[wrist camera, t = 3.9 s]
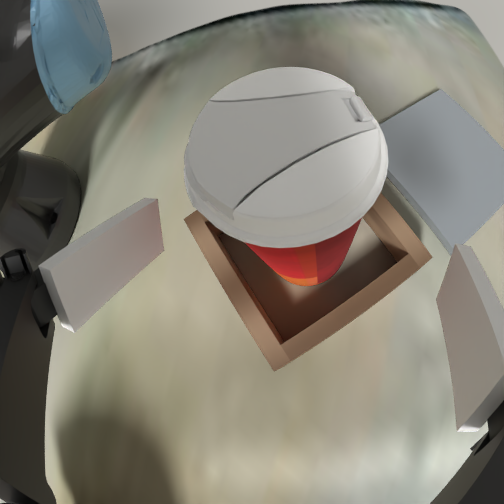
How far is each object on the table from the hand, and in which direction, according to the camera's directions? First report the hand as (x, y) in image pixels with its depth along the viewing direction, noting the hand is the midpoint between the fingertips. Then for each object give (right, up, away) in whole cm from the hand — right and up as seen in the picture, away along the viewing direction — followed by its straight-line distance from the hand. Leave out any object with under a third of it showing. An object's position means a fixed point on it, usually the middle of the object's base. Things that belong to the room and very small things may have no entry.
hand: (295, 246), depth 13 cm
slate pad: (+15, +8, +9) cm, 19 cm away
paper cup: (+2, 0, +10) cm, 11 cm away
